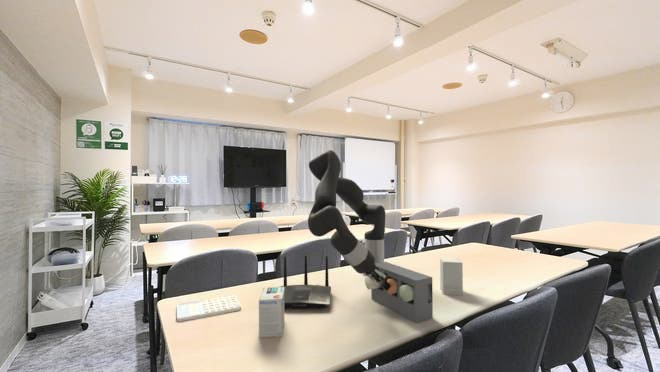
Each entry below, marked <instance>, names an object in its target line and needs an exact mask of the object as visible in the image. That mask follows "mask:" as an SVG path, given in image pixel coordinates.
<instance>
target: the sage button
mask: <svg viewBox="0 0 660 372" xmlns="http://www.w3.org/2000/svg"><path fill="white" fill-rule="evenodd" d="M399 293H400V297H401V298H402V300H403V301H405V302H408V301H412V300H414V286H412V285H409V284H407V285H402V286H401V287H400V289H399Z"/></svg>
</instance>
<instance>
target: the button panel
mask: <svg viewBox="0 0 660 372" xmlns="http://www.w3.org/2000/svg"><path fill="white" fill-rule="evenodd" d="M375 265H377V266H378V267H379V269H380V271H381V272H382V273H383V272H386V273H387V275H388V279H391V278H394V279H397V290H398V293H395V294H391V295H390V294H388V293H387V292H386V290H385V289H383V288H382V287H380V288H375V289H370V290H371V291H370V292H371V294H370V296H371V300H372V301H375V302H376V303H378V304H380V305H381V306H384V307H385V308H387V309H390V310H391V311H393V312H394V313H396V314H399V315H400V316H403V317H404V318H406V319H409V320H410V321H412V322H414V323H416V324H418V323H422V322H425V321H427V320H431V319H433V317H434V314H433V313H434V311H433V301H434V300H433V277H432V276H430V275H426V274H424V273H421V272H417V271H415V270H412V269H409V268H406V267H403V266H400V265H396V264H393V263H392V262H388V261H384V262H382V263H376V264H375ZM407 284H409V285H412V286H414V300H412V301H408V302H405V301H403V300H402V298H401V297H400V293H399V289H400V287H401V286H402V285H407Z"/></svg>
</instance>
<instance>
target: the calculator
mask: <svg viewBox="0 0 660 372" xmlns="http://www.w3.org/2000/svg"><path fill="white" fill-rule="evenodd" d="M238 311H242V305H241V303H240V302H239V300H238V298H237V296H236V295H233V294H231V295H226V296H222V297H221V296H220V297H214V298H209V299H202V300H196V301H190V302H183V303H178V304H177V305H176V321H177V322H184V321H191V320H195V319H201V318H206V317H211V316H218V315H222V314H223V315H224V314H227V313H234V312H238Z"/></svg>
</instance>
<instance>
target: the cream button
mask: <svg viewBox="0 0 660 372" xmlns="http://www.w3.org/2000/svg"><path fill="white" fill-rule="evenodd" d="M364 283H365V286H366V288H367V289H368V290H371V289H375V288H380V287H381V286H380V284H379V283H376V281H375V280H374V281H373V280H372V279H370V278H369V277H368V276H367V275H365V277H364Z"/></svg>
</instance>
